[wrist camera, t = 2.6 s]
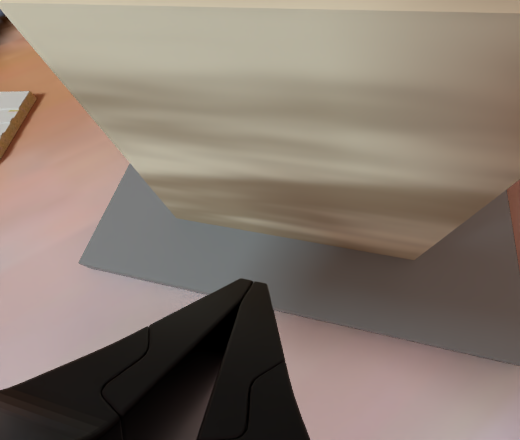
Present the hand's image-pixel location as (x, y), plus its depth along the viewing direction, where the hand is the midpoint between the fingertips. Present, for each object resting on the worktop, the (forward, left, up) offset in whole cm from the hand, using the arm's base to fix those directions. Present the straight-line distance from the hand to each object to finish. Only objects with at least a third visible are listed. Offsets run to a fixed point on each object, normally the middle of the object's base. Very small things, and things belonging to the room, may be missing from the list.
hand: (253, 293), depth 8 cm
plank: (+5, -3, -7) cm, 9 cm away
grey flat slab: (+9, -6, -8) cm, 13 cm away
